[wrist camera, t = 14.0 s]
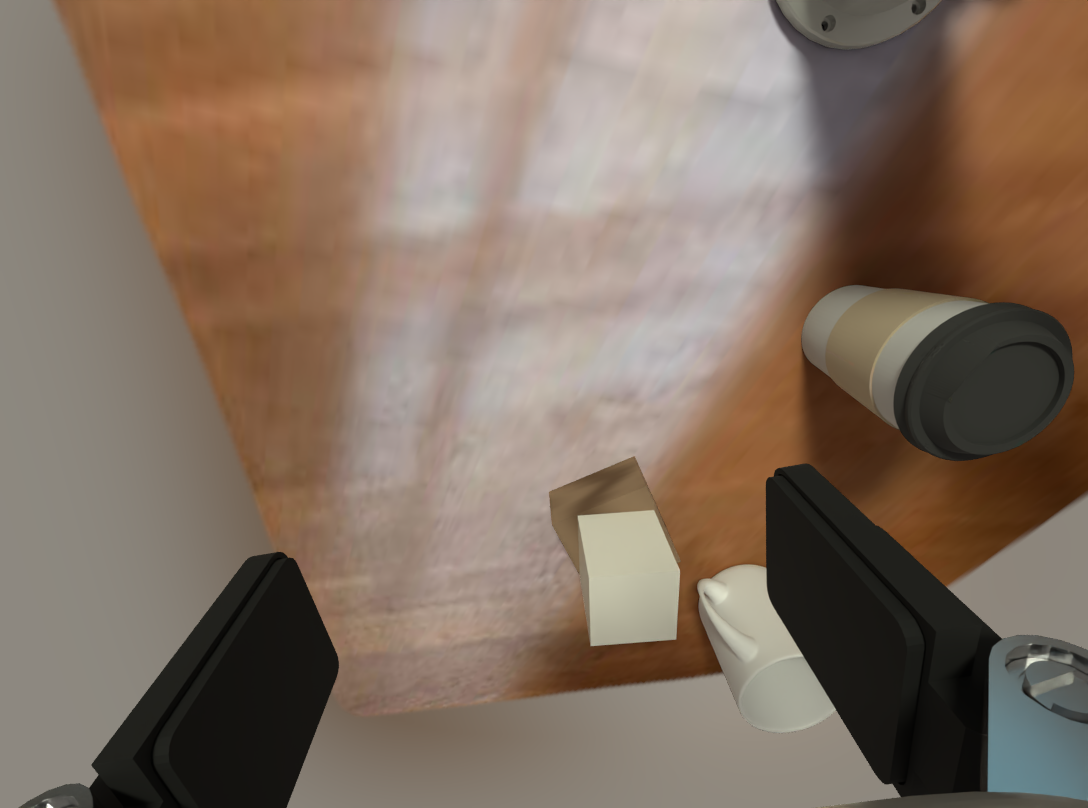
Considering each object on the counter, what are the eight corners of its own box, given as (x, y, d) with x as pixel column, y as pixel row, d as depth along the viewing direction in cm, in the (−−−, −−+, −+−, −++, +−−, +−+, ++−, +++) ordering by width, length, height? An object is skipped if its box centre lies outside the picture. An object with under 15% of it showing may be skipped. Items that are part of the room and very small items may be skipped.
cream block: (654, 510, 40) (679, 570, 34) (652, 571, 42) (676, 639, 36) (577, 515, 40) (588, 577, 34) (579, 576, 42) (590, 646, 36)
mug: (718, 526, 47) (771, 615, 37) (801, 590, 50) (870, 688, 40) (652, 585, 49) (685, 684, 39) (736, 643, 52) (786, 748, 42)
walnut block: (634, 455, 44) (647, 485, 39) (665, 525, 47) (680, 561, 42) (549, 490, 45) (551, 524, 40) (584, 557, 48) (591, 596, 43)
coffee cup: (927, 307, 40) (1144, 368, 26) (847, 402, 43) (1005, 502, 29) (841, 247, 38) (1026, 277, 24) (763, 350, 41) (889, 431, 27)
